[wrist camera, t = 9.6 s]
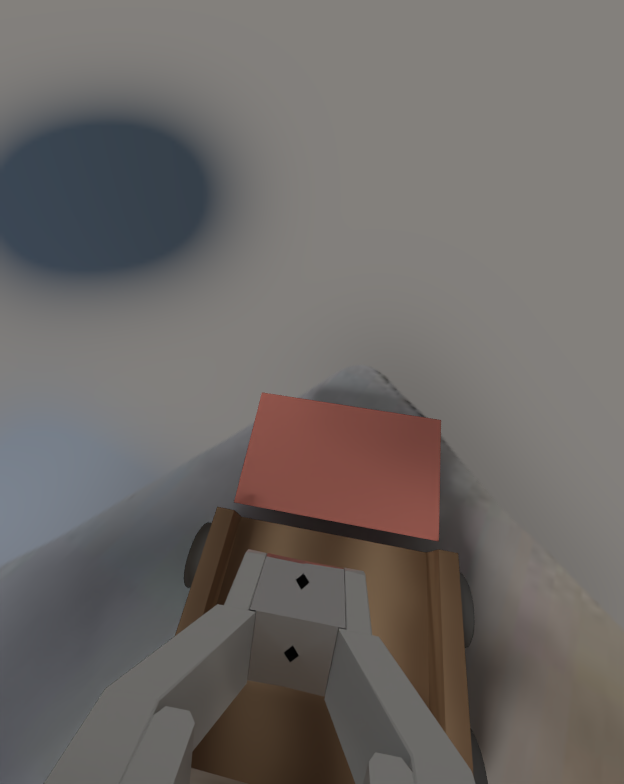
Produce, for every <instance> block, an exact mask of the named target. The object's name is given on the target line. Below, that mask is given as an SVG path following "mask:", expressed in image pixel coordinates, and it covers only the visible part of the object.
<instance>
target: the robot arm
mask: <svg viewBox="0 0 624 784" xmlns="http://www.w3.org/2000/svg"><path fill="white" fill-rule="evenodd" d="M247 680H249V681H254V682H260V683H266V684H271V685H277V686H283V687H287V688H291V689H295V690H299V691H303V692H307V693H311V694H315V695H319V696H324V697H325V699H324V700H325V702H326V705H327V708H328V711H329V713H330V716H331V719H332V721H333V724H334V727H335V730H336V732H337V735H338V738H339V740H340V743H341V746H342V749H343V751H344V754H345V757H346V760H347V762H348V765H349V768H350V770H351V773H352V776H353V779H354V781H355V784H475V781H474V777H473V774H472V771H471V769H470V768H469V767H468V765H467V764H466V762H465V761H464V759H463V758H462V756H461V755H460V753H459V752H458V751H457V749H456V748H455V746H454V745H453V743H452V742H451V740H450V739H449V737H448V736H447V735H446V733H445V732H444V730H443V729H442V727H441V726H440V724H439V723H438V722H437V720H436V719H435V717H434V716H433V714H432V713H431V711H430V710H429V708H428V707H427V706H426V704H425V703H424V701H423V700H422V698H421V697H420V695H419V694H418V692H417V691H416V690H415V688H414V687H413V685H412V684H411V682H410V681H409V679H408V678H407V677H406V675H405V674H404V672H403V671H402V669H401V668H400V666H399V665H398V663H397V662H396V661H395V659H394V658H393V656H392V655H391V653H390V652H389V650H388V649H387V648H386V646H385V645H384V643H383V642H382V640H381V639H380V637H378V636H374V635H372V628H371V619H370V610H369V602H368V593H367V584H366V575H365V573H364V571H360V570H355V569H349V568H344V569H343V568H341V567H335V566H330V565H325V564H319V563H314V562H308V561H303V560H298V559H294V558H289V557H284V556H280V555H275V554H271V553H268V554H267V553H264V552H259V551H255V550H250V549H248V550H247V552H246V553H245V555H244V557H243V560H242V562H241V565H240V567H239V570H238V572H237V574H236V577H235V579H234V582H233V584H232V587H231V589H230V591H229V594H228V596H227V599H226V601H225V604H224V605H219V604H217V605H216V606H214V607H213V608H212V609H210V610H209V611H208V612H206V613H205V614H204V615H202V616H201V617H200V618H198V619H197V620H196V621H194V622H193V623H192V624H190V625H189V626H188V627H187V628H185V629H184V630H183V631H181V632H180V633H179V634H177V635H176V636H175V637H173V638H172V639H171V640H169V641H168V642H167V643H165V644H164V645H163V646H161V647H160V648H159V649H157V650H156V651H155V652H153V653H152V654H151V655H149V656H148V657H147V658H145V659H144V660H143V661H141V662H140V663H139V664H137V665H136V666H135V667H133V668H132V669H131V670H130V671H128V672H127V673H126V674H124V675H123V676H122V677H120V678H119V679H118V680H116V681H115V682H114V683H112V684H111V685H110V686H108V687H107V688H106V689H105V690H104V691H103V693H102V695H101V696H100V698H99V699H98V701H97V702H96V704H95V705H94V707H93V708H92V710H91V712H90V713H89V715H88V716H87V718H86V719H85V721H84V722H83V724H82V725H81V727H80V728H79V730H78V732H77V733H76V735H75V736H74V738H73V739H72V741H71V742H70V744H69V745H68V747H67V749H66V750H65V752H64V753H63V755H62V756H61V758H60V759H59V761H58V762H57V764H56V766H55V767H54V769H53V770H52V772H51V773H50V775H49V776H48V778H47V779H46V781H45V782H44V784H190V774H191V762H192V752H193V750H194V749H195V748H196V747H197V745H198V744H199V743H200V742H201V740H202V739H203V738H204V736H205V735H206V734H207V733H208V731H209V730H210V729H211V728H212V726H213V725H214V724H215V723H216V721H217V720H218V719H219V718H220V716H221V715H222V714H223V713H224V711H225V710H226V709H227V707H228V706H229V705H230V704H231V702H232V701H233V700H234V699H235V697H236V696H237V695H238V694H239V692H240V691H241V690H242V689H243V687H244V686H245V685H246V684H247Z"/></svg>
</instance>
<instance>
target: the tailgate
mask: <svg viewBox="0 0 624 784" xmlns="http://www.w3.org/2000/svg"><path fill="white" fill-rule="evenodd" d="M440 443H441V420H437V419H431V418H424V417H418V416H411V415H405V414H398V413H392V412H385V411H379V410H372V409H366V408H359V407H353V406H346V405H340V404H333V403H327V402H320V401H314V400H307V399H301V398H294V397H287V396H281V395H275V394H268V393H262V395H261V399H260V402H259V407H258V411H257V414H256V418H255V422H254V426H253V430H252V434H251V438H250V442H249V446H248V449H247V453H246V457H245V461H244V465H243V469H242V473H241V477H240V481H239V485H238V489H237V493H236V496H235V500H234V502H235V503H240V504H245V505H250V506H256V507H261V508H266V509H271V510H277V511H282V512H287V513H292V514H298V515H303V516H308V517H313V518H319V519H324V520H329V521H334V522H340V523H345V524H350V525H355V526H361V527H366V528H371V529H376V530H382V531H387V532H392V533H397V534H403V535H408V536H413V537H418V538H424V539H429V540H434V541H439V501H440Z"/></svg>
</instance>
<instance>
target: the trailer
mask: <svg viewBox="0 0 624 784" xmlns="http://www.w3.org/2000/svg"><path fill="white" fill-rule="evenodd" d="M248 549H250V550H255V551H259V552H264V553H267V554H268V553H271V554H275V555H280V556H284V557H289V558H294V559H298V560H303V561H308V562H314V563H319V564H325V565H330V566H335V567H341V568H343V569H344V568H349V569H355V570H360V571H364V573H365V575H366V584H367V593H368V602H369V610H370V619H371V628H372V635H374V636H378V637H380V639H381V640H382V642H383V643H384V645H385V646H386V648H387V649H388V650H389V652H390V653H391V655H392V656H393V658H394V659H395V661H396V662H397V663H398V665H399V666H400V668H401V669H402V671H403V672H404V674H405V675H406V677H407V678H408V679H409V681H410V682H411V684H412V685H413V687H414V688H415V690H416V691H417V692H418V694H419V695H420V697H421V698H422V700H423V701H424V703H425V704H426V706H427V707H428V708H429V710H430V711H431V713H432V714H433V716H434V717H435V719H436V720H437V722H438V723H439V724H440V726H441V727H442V729H443V730H444V732H445V733H446V735H447V736H448V737H449V739H450V740H451V742H452V743H453V745H454V746H455V748H456V749H457V751H458V752H459V753H460V755H461V756H462V758H463V759H464V761H465V762H466V764H467V765H468V767H469V768H470V769H471V771H472V774H473V777H474V781H475V784H488V781H487V776H486V771H485V767H484V762H483V759H482V755H481V752H480V749H479V746H478V743H477V740H476V738H475V736H474V734H473V732H472V730H471V728H470V718H469V703H468V689H467V674H466V660H465V648H467V647H468V646H469V645H470V643H471V640H472V637H473V631H474V607H473V600H472V595H471V591H470V588H469V585H468V583H467V581H466V579H465V577H464V576H463V575H462V574H461V573H460V572H459V559H458V553H454V552H449V551H444V550H435V551H431V552H427V553H425V552H420V551H415V550H410V549H405V548H400V547H395V546H389V545H384V544H379V543H374V542H369V541H364V540H359V539H353V538H348V537H343V536H338V535H333V534H328V533H323V532H317V531H312V530H307V529H302V528H297V527H292V526H287V525H281V524H276V523H271V522H266V521H261V520H256V519H251V518H245V517H241V516H240V515H239V514H238V513H237V512H236V511H235V510H231V509H226V508H221V507H217V509H216V512H215V515H214V518H213V521H212V523H209V522H208V523H205V524H204V525H203V526H202V527H201V529H200V530H199V532H198V533H197V535H196V537H195V539H194V541H193V543H192V546H191V548H190V551H189V554H188V557H187V561H186V565H185V571H184V583H185V586H186V587H189V588H190V591H189V594H188V597H187V601H186V604H185V607H184V610H183V613H182V616H181V619H180V622H179V625H178V628H177V631H176V634H175V636H176V635H177V634H179V633H180V632H181V631H183V630H184V629H185V628H187V627H188V626H189V625H190V624H192V623H193V622H194V621H196V620H197V619H198V618H200V617H201V616H202V615H204V614H205V613H206V612H208V611H209V610H210V609H212V608H213V607H214V606H216V605H217V604H219V605H224V604H225V601H226V599H227V596H228V594H229V591H230V589H231V587H232V584H233V582H234V579H235V577H236V574H237V572H238V570H239V567H240V565H241V562H242V560H243V557H244V555H245V553H246V552H247V550H248ZM324 699H325V697H324V696H319V695H315V694H311V693H307V692H303V691H299V690H295V689H291V688H287V687H283V686H277V685H271V684H266V683H260V682H254V681H249V680H247V684H246V685H245V686H244V687H243V689H242V690H241V691H240V692H239V694H238V695H237V696H236V697H235V699H234V700H233V701H232V702H231V704H230V705H229V706H228V707H227V709H226V710H225V711H224V713H223V714H222V715H221V716H220V718H219V719H218V720H217V721H216V723H215V724H214V725H213V726H212V728H211V729H210V730H209V731H208V733H207V734H206V735H205V736H204V738H203V739H202V740H201V742H200V743H199V744H198V745H197V747H196V748H195V749H194V750H193V752H192V762H191V774H190V784H355V781H354V779H353V776H352V773H351V770H350V768H349V765H348V762H347V760H346V757H345V754H344V751H343V749H342V746H341V743H340V740H339V738H338V735H337V732H336V730H335V727H334V724H333V721H332V719H331V716H330V713H329V711H328V708H327V705H326V702H325V700H324Z"/></svg>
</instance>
